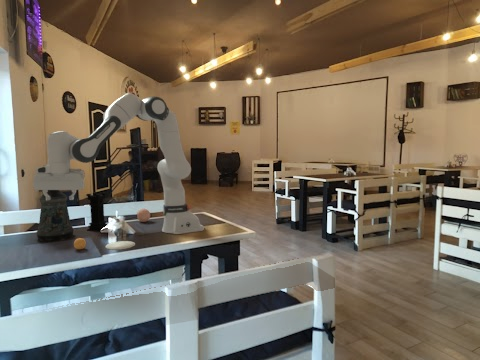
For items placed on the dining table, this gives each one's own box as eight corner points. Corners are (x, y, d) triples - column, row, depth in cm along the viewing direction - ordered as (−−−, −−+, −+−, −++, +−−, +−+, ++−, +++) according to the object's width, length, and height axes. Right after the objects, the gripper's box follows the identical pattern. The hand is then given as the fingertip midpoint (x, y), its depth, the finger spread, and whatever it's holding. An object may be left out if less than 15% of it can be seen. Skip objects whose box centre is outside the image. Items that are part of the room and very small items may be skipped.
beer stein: (44, 243, 165) (41, 191, 163) (29, 237, 178) (26, 188, 175) (79, 236, 178) (76, 187, 175) (63, 230, 190) (60, 185, 188)
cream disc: (134, 240, 169) (134, 240, 169) (135, 247, 157) (135, 247, 157) (106, 243, 165) (106, 242, 165) (104, 250, 153) (104, 250, 153)
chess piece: (100, 231, 189) (98, 194, 187) (87, 230, 190) (85, 194, 188) (108, 227, 196) (107, 192, 194) (96, 227, 198) (94, 192, 196)
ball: (86, 247, 159) (86, 236, 158) (85, 250, 154) (85, 239, 154) (74, 248, 157) (74, 237, 157) (73, 251, 153) (72, 240, 152)
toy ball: (145, 219, 216) (144, 207, 215) (153, 221, 212) (153, 208, 211) (134, 222, 210) (133, 209, 209) (142, 223, 205) (142, 210, 204)
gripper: (86, 168, 157) (86, 198, 159) (36, 168, 153) (37, 199, 155) (82, 169, 151) (83, 200, 152) (30, 168, 147) (32, 201, 148)
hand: (60, 200), depth 153 cm, fingers open, 8 cm apart
